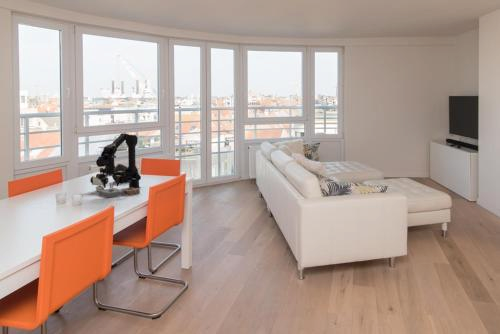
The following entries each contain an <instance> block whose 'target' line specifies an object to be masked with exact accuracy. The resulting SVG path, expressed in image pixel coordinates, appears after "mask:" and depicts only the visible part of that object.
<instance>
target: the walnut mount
mask: <svg viewBox="0 0 500 334" xmlns="http://www.w3.org/2000/svg"><path fill="white" fill-rule="evenodd" d="M120 190H123V191H124V194H125V195H124V196H134V195H139V194H140V189H139V188H133V187H131V188H129V187H126V188H121V189H120Z"/></svg>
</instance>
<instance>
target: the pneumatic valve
mask: <svg viewBox="0 0 500 334" xmlns="http://www.w3.org/2000/svg"><path fill="white" fill-rule="evenodd" d="M96 175H97V174H95V175H92V176H91V177H90V180H89V181H90V184H91V185H92V186H95V191H96V192H99V191H98V190H104V189H105V188H104V186H103V184H102V182H101V180H100V179H98V178H96ZM105 179H106V185H107V184H108V183H109V177H105Z"/></svg>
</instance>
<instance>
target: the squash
mask: <svg viewBox="0 0 500 334" xmlns="http://www.w3.org/2000/svg"><path fill="white" fill-rule="evenodd" d="M127 168H128V167H127V166H126V165H124V164H122V163H118V164H117V165H116V166H115V172H116V171H123V172H124V173H125V176H123V177H122V178H121V180H120V183H122V182H127V183H129V180H128V179H127V176H126V169H127ZM116 176H117V175H115V176H111V178H112V179H113V181H114V182H115V183H116Z"/></svg>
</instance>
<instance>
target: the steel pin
mask: <svg viewBox="0 0 500 334" xmlns="http://www.w3.org/2000/svg"><path fill="white" fill-rule="evenodd" d="M108 183H109V185H108V186H109V189H110V191H113V188H114V182H108Z"/></svg>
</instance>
